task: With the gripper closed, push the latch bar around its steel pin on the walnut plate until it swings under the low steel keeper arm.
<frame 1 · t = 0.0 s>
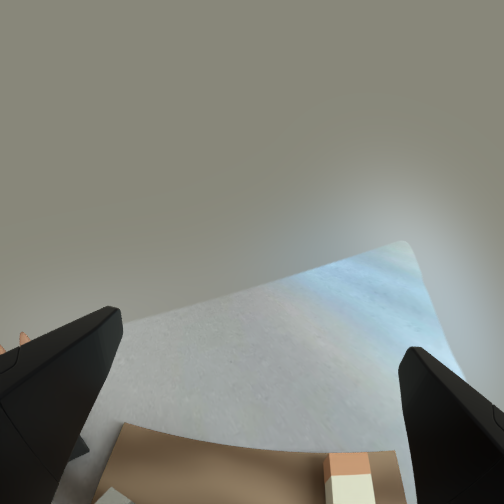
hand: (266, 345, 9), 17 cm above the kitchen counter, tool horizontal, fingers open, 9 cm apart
ammunition clip: (33, 468, 15), on the kitchen counter
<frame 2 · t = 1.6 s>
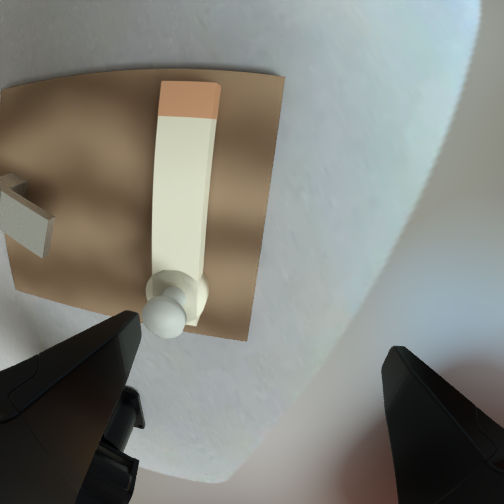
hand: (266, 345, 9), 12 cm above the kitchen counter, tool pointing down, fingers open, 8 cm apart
keeper: (24, 211, 18), on the base plate, point 3 cm above the kitchen counter
latch bar: (173, 217, 17), point 3 cm above the kitchen counter, hinge at 0.0°
base plate: (185, 278, 22), on the kitchen counter
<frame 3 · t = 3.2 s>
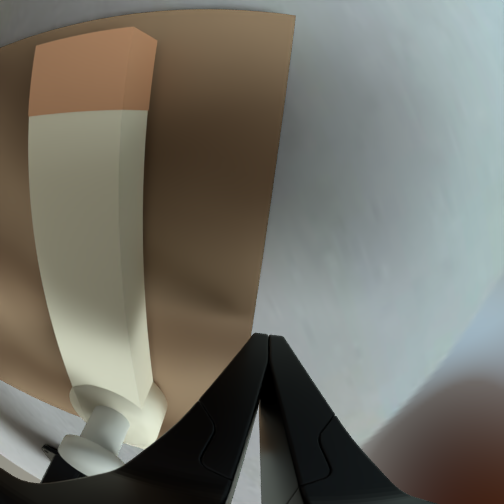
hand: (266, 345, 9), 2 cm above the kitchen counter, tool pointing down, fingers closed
latch bar: (74, 318, 8), point 3 cm above the kitchen counter, hinge at 0.0°
base plate: (132, 374, 13), on the kitchen counter
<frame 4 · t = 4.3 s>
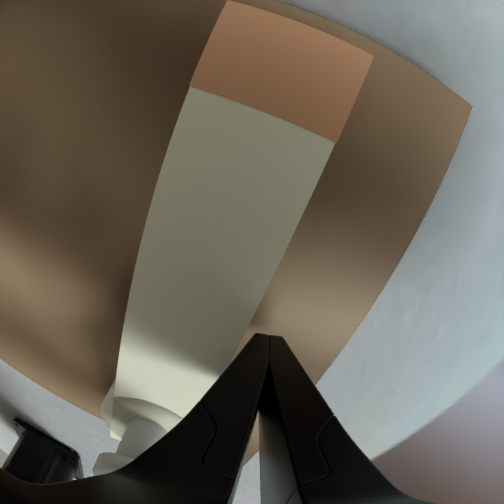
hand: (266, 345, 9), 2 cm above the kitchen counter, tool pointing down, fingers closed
latch bar: (174, 344, 7), point 3 cm above the kitchen counter, hinge at 0.0°, touching gripper
base plate: (166, 382, 12), on the kitchen counter
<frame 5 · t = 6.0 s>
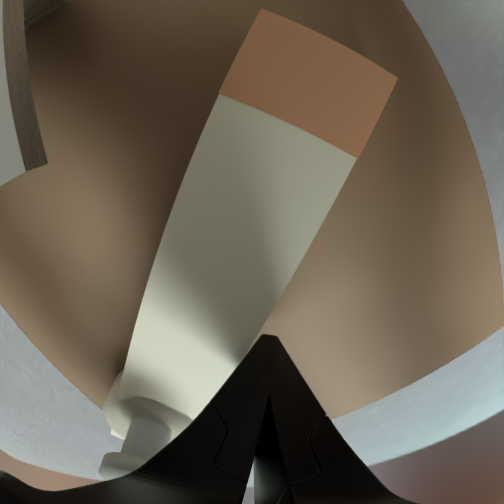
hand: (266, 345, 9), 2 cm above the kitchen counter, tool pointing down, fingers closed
keeper: (3, 60, 5), on the base plate, point 3 cm above the kitchen counter
latch bar: (189, 346, 7), point 3 cm above the kitchen counter, hinge at 33.5°, touching gripper
base plate: (166, 379, 12), on the kitchen counter
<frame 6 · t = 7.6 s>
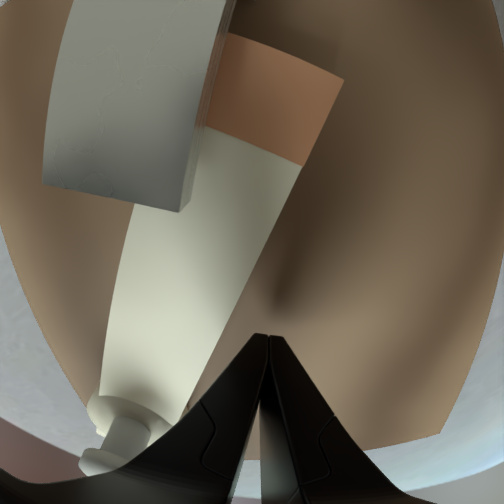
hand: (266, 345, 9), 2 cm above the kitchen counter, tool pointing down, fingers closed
keeper: (166, 26, 5), on the base plate, point 3 cm above the kitchen counter
latch bar: (152, 349, 8), point 3 cm above the kitchen counter, hinge at 59.7°
base plate: (150, 382, 13), on the kitchen counter
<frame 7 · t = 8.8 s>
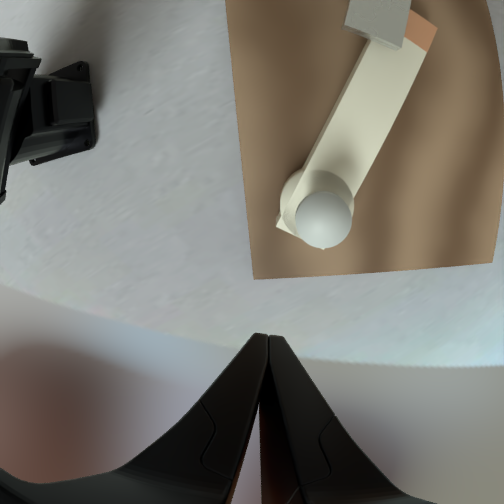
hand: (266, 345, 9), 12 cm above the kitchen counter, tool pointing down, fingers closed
latch bar: (368, 116, 14), point 3 cm above the kitchen counter, hinge at 59.7°
base plate: (312, 195, 19), on the kitchen counter
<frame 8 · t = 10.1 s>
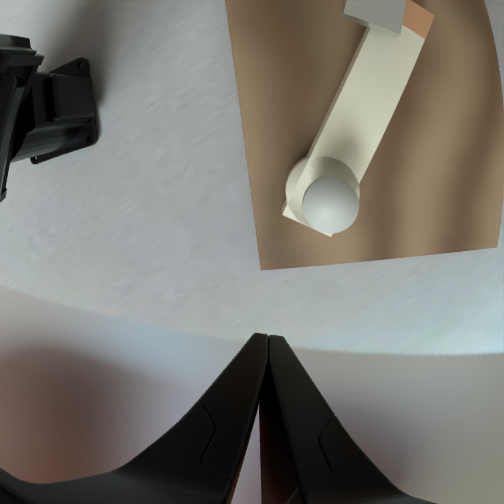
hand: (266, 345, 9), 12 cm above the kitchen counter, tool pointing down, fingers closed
latch bar: (370, 102, 14), point 3 cm above the kitchen counter, hinge at 59.7°
base plate: (317, 184, 19), on the kitchen counter
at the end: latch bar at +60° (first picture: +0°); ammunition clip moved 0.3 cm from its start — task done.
